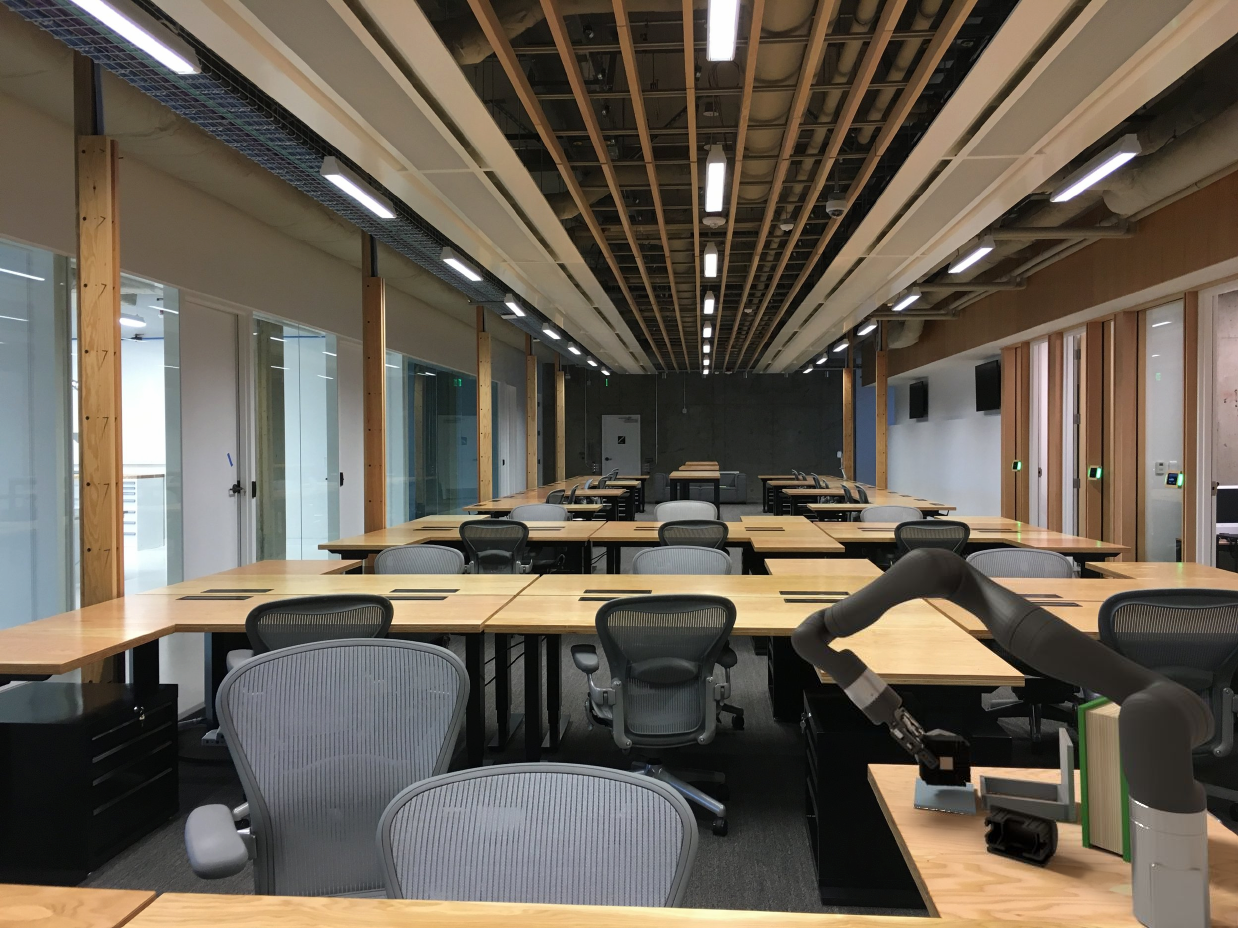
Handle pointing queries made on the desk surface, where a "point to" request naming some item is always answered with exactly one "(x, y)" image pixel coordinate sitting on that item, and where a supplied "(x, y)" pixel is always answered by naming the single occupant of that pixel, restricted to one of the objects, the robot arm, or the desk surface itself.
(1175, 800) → the robot arm
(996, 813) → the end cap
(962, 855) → the desk surface
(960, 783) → the cpu cooler
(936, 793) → the rubber mat
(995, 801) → the open rectangular frame
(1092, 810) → the hardback book
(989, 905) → the desk surface
